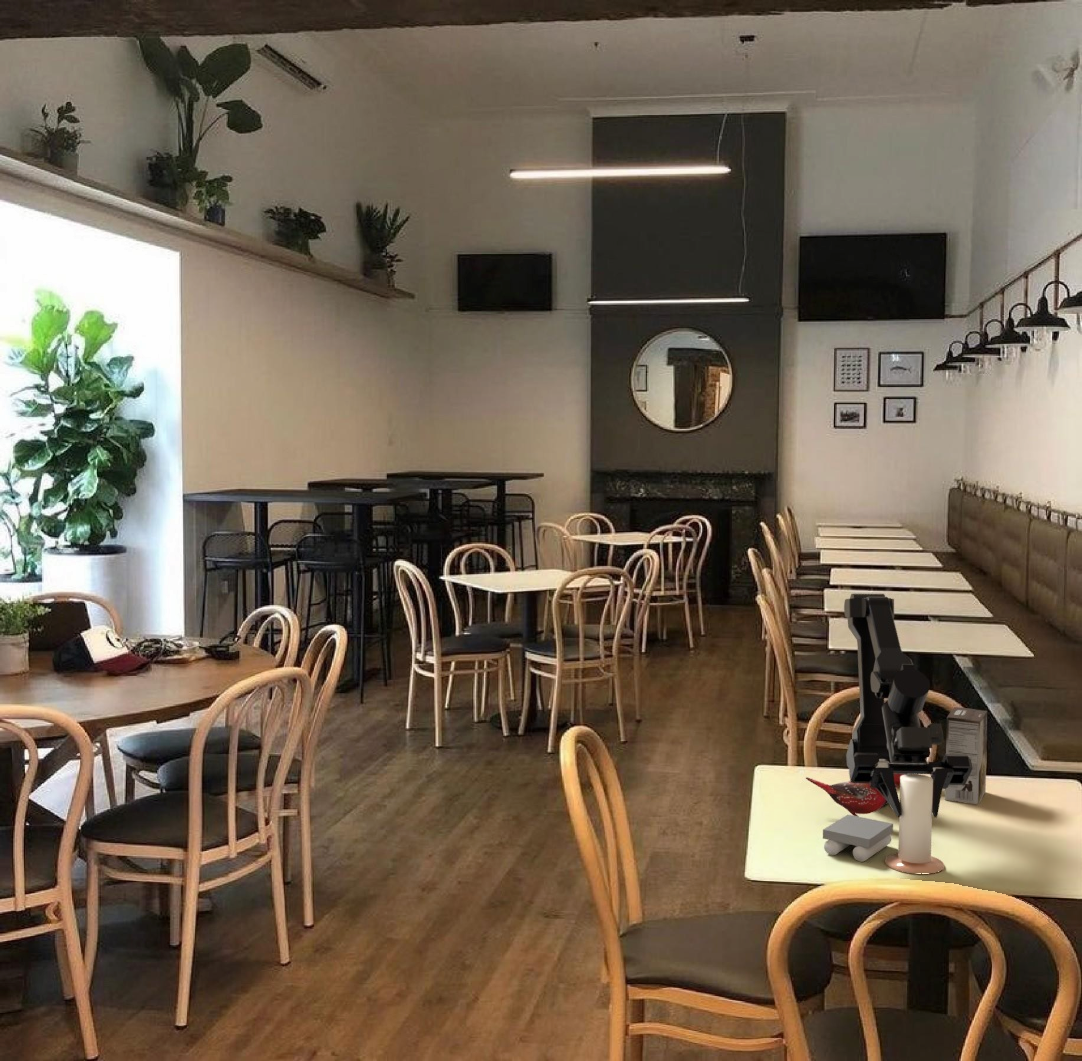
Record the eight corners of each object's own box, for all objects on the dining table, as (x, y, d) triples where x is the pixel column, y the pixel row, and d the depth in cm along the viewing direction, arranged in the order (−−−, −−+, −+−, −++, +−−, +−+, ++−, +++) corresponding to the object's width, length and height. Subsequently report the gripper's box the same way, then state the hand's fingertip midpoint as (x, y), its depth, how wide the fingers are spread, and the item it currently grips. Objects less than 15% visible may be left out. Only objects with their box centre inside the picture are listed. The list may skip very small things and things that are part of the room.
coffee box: (951, 787, 238) (953, 706, 237) (986, 792, 235) (988, 709, 234) (943, 800, 230) (945, 716, 229) (979, 805, 227) (981, 719, 226)
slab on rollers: (822, 853, 201) (822, 829, 201) (847, 837, 209) (847, 814, 209) (868, 863, 197) (869, 839, 196) (892, 846, 204) (893, 823, 204)
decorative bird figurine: (893, 832, 212) (894, 776, 211) (801, 812, 223) (801, 758, 222) (900, 828, 214) (901, 772, 213) (808, 808, 225) (809, 755, 225)
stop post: (891, 856, 197) (893, 777, 196) (911, 850, 200) (913, 772, 198) (917, 865, 193) (919, 784, 192) (937, 858, 196) (939, 779, 194)
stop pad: (876, 866, 195) (876, 863, 195) (897, 851, 202) (898, 848, 202) (932, 878, 190) (932, 876, 190) (952, 862, 197) (952, 860, 197)
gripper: (853, 704, 199) (866, 790, 189) (970, 705, 197) (989, 792, 187) (843, 739, 207) (855, 824, 197) (956, 741, 206) (973, 826, 196)
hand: (917, 816), depth 194 cm, fingers open, 5 cm apart
